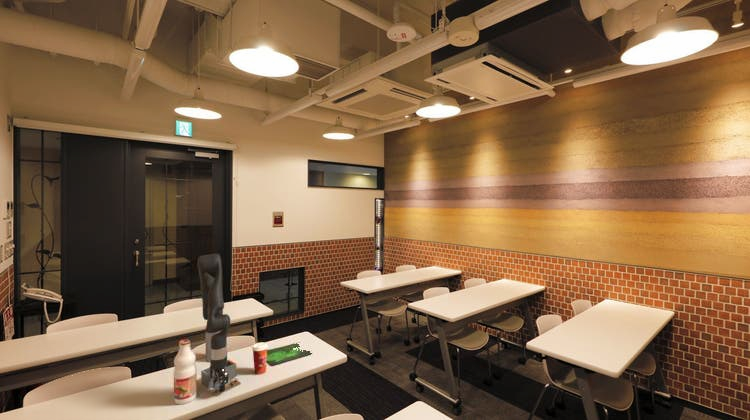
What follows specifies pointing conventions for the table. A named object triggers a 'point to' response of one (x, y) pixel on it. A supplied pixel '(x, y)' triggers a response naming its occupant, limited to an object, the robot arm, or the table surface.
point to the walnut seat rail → (228, 387)
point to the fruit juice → (185, 374)
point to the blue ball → (217, 385)
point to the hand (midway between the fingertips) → (219, 389)
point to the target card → (229, 381)
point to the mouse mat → (285, 354)
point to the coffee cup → (260, 357)
